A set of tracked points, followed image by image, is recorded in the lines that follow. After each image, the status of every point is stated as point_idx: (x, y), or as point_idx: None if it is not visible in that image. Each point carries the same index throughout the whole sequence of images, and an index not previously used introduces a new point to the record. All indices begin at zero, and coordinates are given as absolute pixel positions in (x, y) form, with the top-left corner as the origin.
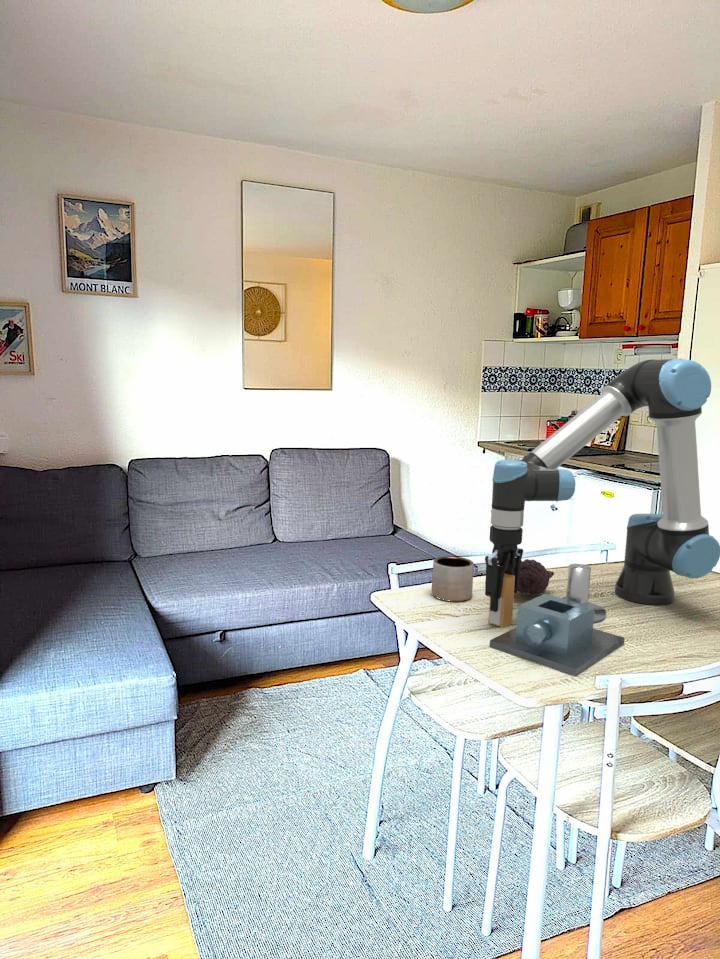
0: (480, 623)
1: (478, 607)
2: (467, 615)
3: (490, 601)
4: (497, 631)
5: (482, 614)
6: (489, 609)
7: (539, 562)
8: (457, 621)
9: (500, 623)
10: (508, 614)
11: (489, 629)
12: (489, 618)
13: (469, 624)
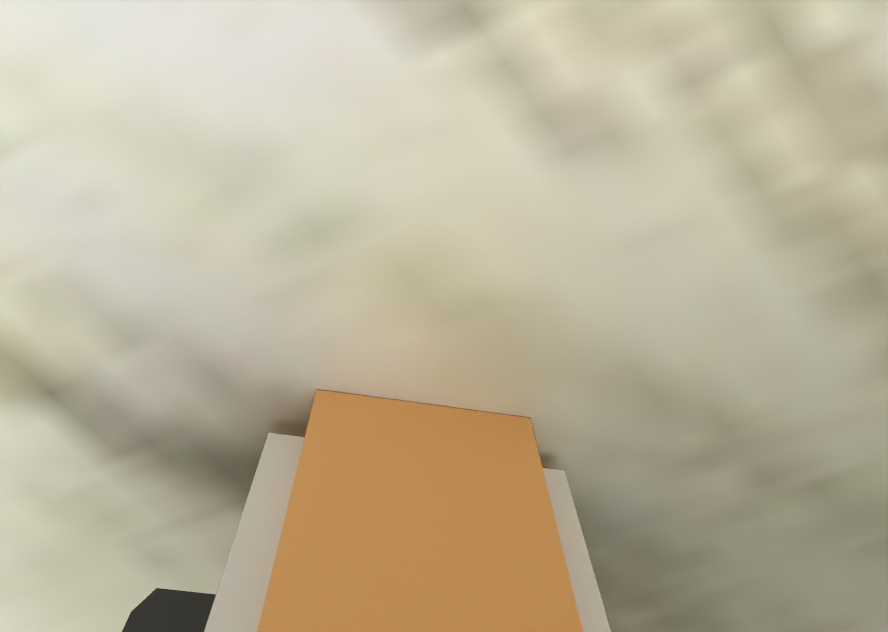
0: (239, 313)
1: (872, 3)
2: (408, 21)
3: (265, 615)
4: (149, 558)
5: (592, 191)
6: (289, 506)
7: None
8: (55, 10)
9: None
10: None
11: (135, 474)
12: (305, 435)
13: (90, 213)
